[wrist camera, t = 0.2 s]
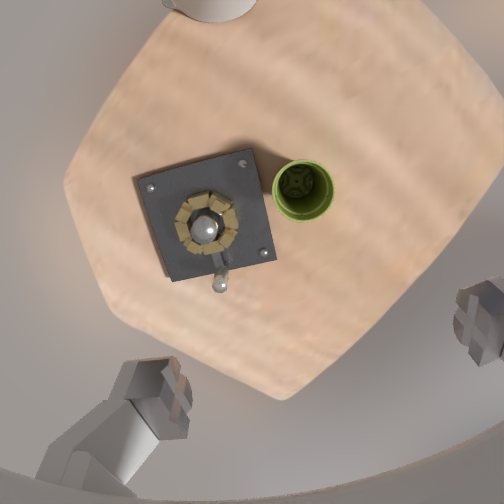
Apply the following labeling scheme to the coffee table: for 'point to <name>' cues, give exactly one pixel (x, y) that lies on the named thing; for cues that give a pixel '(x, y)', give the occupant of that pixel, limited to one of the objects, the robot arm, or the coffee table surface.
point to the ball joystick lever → (220, 241)
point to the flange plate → (225, 187)
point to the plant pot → (303, 191)
